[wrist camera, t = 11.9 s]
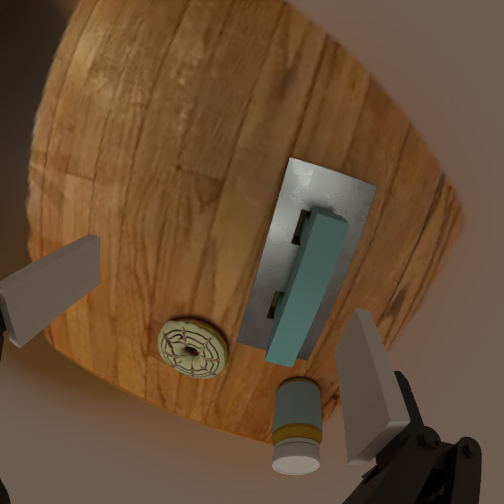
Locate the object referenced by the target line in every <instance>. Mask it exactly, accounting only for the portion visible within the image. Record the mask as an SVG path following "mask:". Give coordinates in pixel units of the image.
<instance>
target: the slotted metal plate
mask: <svg viewBox="0 0 504 504" xmlns="http://www.w3.org/2000/svg"><path fill="white" fill-rule="evenodd" d="M376 188H377V186H374V185H372V184H369V183H366V182H364V181H361V180H358V179H355V178H353V177H350V176H347V175H344V174H341V173H338V172H335V171H332V170H329V169H326V168H323V167H320V166H317V165H314V164H310V163H307V162H304V161H301V160H297V159H294V158H290V159H289V163H288V166H287V170H286V173H285V177H284V181H283V184H282V188H281V191H280V195H279V198H278V202H277V205H276V209H275V212H274V216H273V219H272V223H271V226H270V230H269V233H268V237H267V240H266V244H265V247H264V250H263V254H262V257H261V261H260V264H259V268H258V271H257V275H256V278H255V281H254V285H253V288H252V292H251V295H250V298H249V302H248V305H247V308H246V312H245V315H244V319H243V322H242V325H241V329H240V332H239V335H238V339H237V342H239V343H242V344H246V345H249V346H253V347H256V348H260V349H263V350H266V349H267V343H268V338H269V336H270V333H271V330H272V327H273V320H274V313H275V308H273V307H270V306H271V303H272V300H273V297H274V294H275V291H276V290H277V291H280V292H284V293H285V291H286V288H287V285H288V283H289V280H290V277H291V274H292V271H293V268H294V265H295V262H296V259H297V256H298V253H299V250H300V247H301V245H300V239H298V238H294V237H293V235H294V232H295V229H296V226H297V222H298V219H299V216H300V212H301V209H303V210H306V211H310V212H312V209H313V207H316V208H319V209H322V210H326V211H329V212H332V213H335V214H338V215H341V216H343V217H344V218H345V219H346V220H347V222H348V223H349V224H350V226H349V229H348V232H347V235H346V238H345V240H344V243H343V246H342V249H341V252H340V254H339V257H338V260H337V262H336V265H335V268H334V270H333V273H332V276H331V278H330V281H329V283H328V286H327V288H326V291H325V293H324V296H323V298H322V301H321V303H320V305H319V308H318V310H317V313H316V315H315V317H314V320H313V322H312V324H311V327H310V329H309V331H308V333H307V336H306V338H305V340H304V342H303V344H302V347H301V349H300V351H299V353H298V355H297V357H296V358H298V359H302V360H307V361H308V359H309V357H310V355H311V352H312V350H313V348H314V346H315V344H316V342H317V340H318V338H319V336H320V334H321V332H322V329H323V327H324V325H325V323H326V321H327V318H328V316H329V314H330V312H331V309H332V307H333V305H334V303H335V300H336V298H337V296H338V293H339V291H340V288H341V286H342V283H343V281H344V279H345V276H346V274H347V271H348V268H349V266H350V263H351V261H352V258H353V255H354V253H355V250H356V247H357V245H358V242H359V239H360V236H361V234H362V231H363V228H364V225H365V222H366V219H367V216H368V213H369V210H370V207H371V204H372V201H373V198H374V194H375V191H376Z"/></svg>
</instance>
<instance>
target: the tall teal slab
mask: <svg viewBox="0 0 504 504" xmlns="http://www.w3.org/2000/svg"><path fill="white" fill-rule="evenodd" d="M349 226H350V224H349V223H348V222H347V220H346V219H345V218H344V217H343V216H341V215H338V214H335V213H332V212H329V211H326V210H322V209H319V208H316V207H313V209H312V212H311V215H308V214H305V215H304V218H303V221H302V225H301V228H300V231H299V236H300V245H301V247H300V250H299V253H298V256H297V259H296V262H295V265H294V268H293V271H292V274H291V277H290V280H289V283H288V285H287V288H286V291H285V293H284V292H279V295H278V298H277V301H276V305H275V313H274V320H273V327H272V330H271V333H270V336H269V338H268V343H267V349H266V356H265V361H268V362H272V363H276V364H280V365H284V366H288V367H292V366H293V364H294V362H295V360H296V357H297V355H298V353H299V351H300V349H301V347H302V344H303V342H304V340H305V338H306V336H307V333H308V331H309V329H310V327H311V324H312V322H313V320H314V317H315V315H316V313H317V310H318V308H319V305H320V303H321V301H322V298H323V296H324V293H325V291H326V288H327V286H328V283H329V281H330V278H331V276H332V273H333V270H334V268H335V265H336V262H337V260H338V257H339V254H340V252H341V249H342V246H343V243H344V240H345V238H346V235H347V232H348V229H349Z"/></svg>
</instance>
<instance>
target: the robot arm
mask: <svg viewBox="0 0 504 504" xmlns="http://www.w3.org/2000/svg"><path fill="white" fill-rule="evenodd" d="M99 284H100V237H97V236H94V235H91V234H88V235H86V236H84V237H82V238H80V239H78V240H76V241H74V242H72V243H70V244H68V245H65V246H63V247H61V248H60V249H58V250H56V251H54V252H52V253H50V254H48V255H46V256H44V257H42V258H40V259H38V260H36V261H35V262H33V263H31V264H29V265H27V266H25V267H23V268H21V269H19V270H18V271H17V272H14V273H12V274H11V275H9V276H7V277H5V278H4V279H2V280H1V281H0V360H1V354H2V348H3V342H4V336H3V332H4V331H5V330H7V333H8V336H9V339H10V341H11V342H12V343H14V344H15V345H16V346H17V347H19V348H21V347H22V346H23V345H25V344H26V343H27V342H28V341H29V340H30V339H31V338H33V337H34V336H35V335H36V334H37V333H38V332H40V331H41V330H42V329H43V328H44V327H46V326H47V325H48V324H49V323H50V322H52V321H53V320H54V319H55V318H56V317H58V316H59V315H60V314H61V313H63V312H64V311H65V310H66V309H68V308H69V307H70V306H71V305H73V304H74V303H75V302H76V301H78V300H79V299H80V298H82V297H83V296H84V295H85V294H87V293H88V292H89V291H91V290H92V289H93V288H95V287H96V286H97V285H99ZM334 354H335V361H336V367H337V374H338V381H339V388H340V395H341V403H342V411H343V419H344V429H345V438H346V449H347V461H348V464H367V463H368V462H370V461H371V460H372V459H373V458H374V457H376V464H377V465H376V466H374V467H373V468H372V469H371V470H370V471H368V472H367V473H366V474H364V475H363V476H362V478H364V479H363V480H362V482H361V483H360V484H359V485H358V486H357V488H356V489H355V490H354V491H353V492H352V494H351V495H350V496H349V497H348V498H347V499H346V500H345V502H343V503H342V504H478V503H479V494H480V483H481V460H482V453H481V448H480V446H479V444H478V442H476V440H474V439H472V438H471V437H463V438H461V439H460V440H459V441H458V442H457V443H456V444H455V445H454V444H450V443H445V442H441V440H440V437H439V435H438V434H437V432H436V431H434V430H433V429H432V428H430V427H427V426H424V424H423V421H422V418H421V416H420V413H419V409H418V407H417V404H416V402H415V399H414V396H413V393H412V392H411V388H410V385H409V383H408V380H407V379H406V378H405V377H404V375H403V374H402V373H401V372H400V371H393V368H392V365H391V363H390V360H389V358H388V355H387V352H386V350H385V347H384V345H383V342H382V340H381V337H380V335H379V332H378V330H377V328H376V325H375V323H374V321H373V318H372V316H371V314H370V311H368V310H364V309H360V308H356V307H355V309H354V311H353V313H352V316H351V318H350V320H349V322H348V324H347V326H346V329H345V331H344V333H343V335H342V337H341V339H340V341H339V343H338V345H337V347H336V349H335V351H334ZM443 488H444V489H443ZM0 504H11V503H10V499H9V495H8V493H7V490H6V488H5V486H4V485H3V483H2V482H1V479H0Z"/></svg>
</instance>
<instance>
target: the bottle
mask: <svg viewBox="0 0 504 504" xmlns="http://www.w3.org/2000/svg"><path fill="white" fill-rule="evenodd" d="M321 441H322V416H321V399H320V389H319V387H318V385H317V384H316V383H314V382H313V381H311V380H308V379H304V378H294V379H290V380H288V381H286V382H284V383H282V384H281V385H280V386H279V388H278V390H277V395H276V405H275V414H274V423H273V432H272V442H273V445H274V451H273V459H272V467H273V469H274V470H276V471H277V472H280V473H283V474H289V475H301V474H307V473H310V472H313V471H315V470H316V469H317V468H318V467H319V465H320V452H319V446H320V443H321Z"/></svg>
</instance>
